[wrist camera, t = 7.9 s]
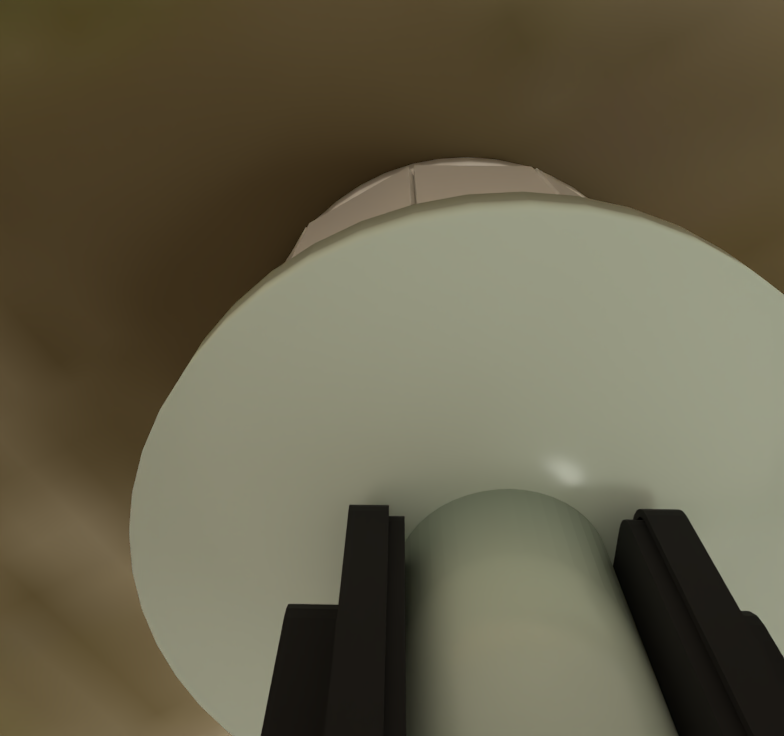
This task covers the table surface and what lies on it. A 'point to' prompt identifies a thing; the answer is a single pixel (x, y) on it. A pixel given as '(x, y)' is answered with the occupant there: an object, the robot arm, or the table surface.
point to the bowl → (428, 191)
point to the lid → (469, 456)
